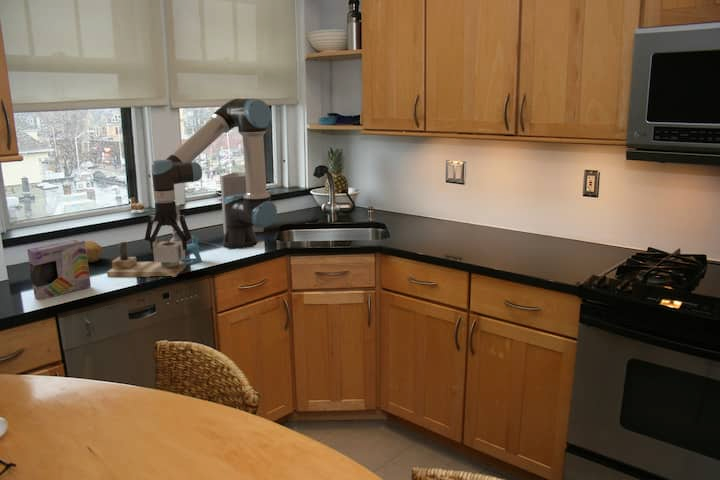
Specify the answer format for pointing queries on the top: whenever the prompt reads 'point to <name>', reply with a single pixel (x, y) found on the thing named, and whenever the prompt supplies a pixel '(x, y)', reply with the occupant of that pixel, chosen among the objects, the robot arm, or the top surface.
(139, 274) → the board
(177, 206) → the chalice
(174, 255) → the collar
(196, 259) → the chair
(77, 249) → the cake pan box
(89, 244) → the potato
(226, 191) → the cream rectangular carton
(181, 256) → the robot arm
